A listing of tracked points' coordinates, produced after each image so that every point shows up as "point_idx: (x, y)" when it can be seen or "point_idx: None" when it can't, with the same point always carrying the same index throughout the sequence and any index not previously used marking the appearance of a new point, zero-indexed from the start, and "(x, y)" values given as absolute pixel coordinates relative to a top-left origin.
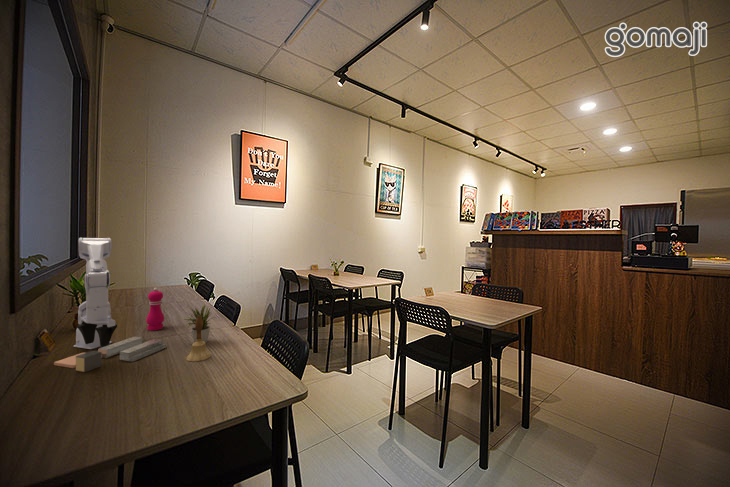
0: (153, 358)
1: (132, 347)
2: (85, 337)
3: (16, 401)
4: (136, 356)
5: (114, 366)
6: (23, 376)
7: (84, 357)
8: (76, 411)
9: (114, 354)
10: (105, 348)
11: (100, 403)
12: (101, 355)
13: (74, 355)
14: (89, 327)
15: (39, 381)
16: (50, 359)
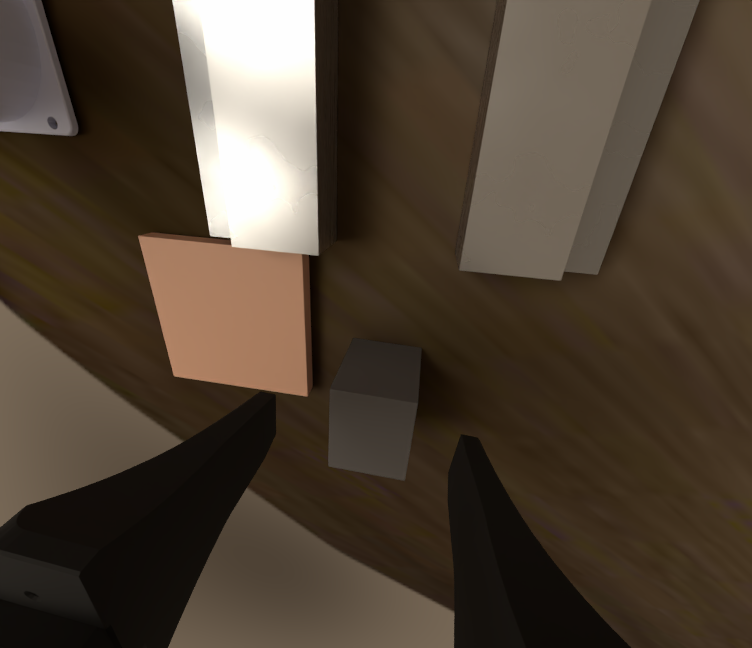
0: (731, 169)
1: (494, 150)
2: (241, 492)
3: (406, 573)
4: (607, 243)
5: (507, 343)
6: None
7: (399, 479)
8: (661, 621)
9: (335, 182)
10: (277, 231)
11: (717, 597)
12: (302, 257)
13: (153, 287)
14: (168, 574)
15: (319, 484)
16: (84, 315)
